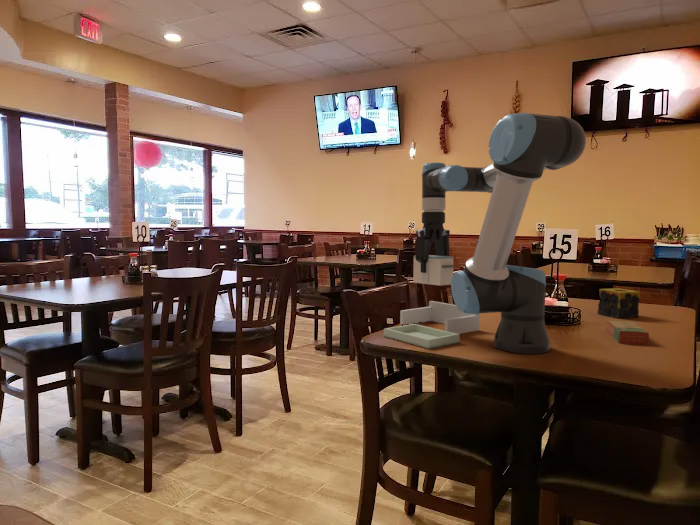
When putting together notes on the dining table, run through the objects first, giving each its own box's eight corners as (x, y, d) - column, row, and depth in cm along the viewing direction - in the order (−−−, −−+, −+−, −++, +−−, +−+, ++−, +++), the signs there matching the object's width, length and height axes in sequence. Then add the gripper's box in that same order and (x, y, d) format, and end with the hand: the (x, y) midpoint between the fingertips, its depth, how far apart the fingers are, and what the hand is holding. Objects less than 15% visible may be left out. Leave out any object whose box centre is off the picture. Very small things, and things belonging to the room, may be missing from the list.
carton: (632, 334, 168) (633, 321, 167) (649, 346, 152) (650, 331, 152) (604, 333, 170) (605, 320, 169) (618, 344, 154) (619, 330, 154)
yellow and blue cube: (597, 314, 202) (598, 288, 202) (617, 313, 206) (619, 288, 205) (617, 319, 193) (619, 292, 192) (639, 317, 196) (640, 291, 195)
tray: (459, 342, 153) (459, 334, 153) (428, 348, 146) (428, 340, 145) (413, 331, 168) (413, 323, 168) (383, 336, 161) (383, 328, 160)
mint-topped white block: (455, 284, 167) (456, 256, 167) (442, 285, 164) (443, 257, 163) (426, 281, 178) (426, 254, 177) (413, 282, 174) (413, 255, 173)
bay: (478, 330, 171) (479, 309, 170) (447, 336, 162) (447, 313, 161) (431, 320, 188) (431, 300, 187) (400, 324, 179) (400, 304, 178)
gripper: (444, 212, 178) (443, 279, 180) (404, 211, 167) (403, 282, 168) (461, 211, 172) (460, 281, 174) (421, 210, 161) (420, 285, 162)
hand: (432, 282), depth 171 cm, fingers closed on mint-topped white block, 6 cm apart
